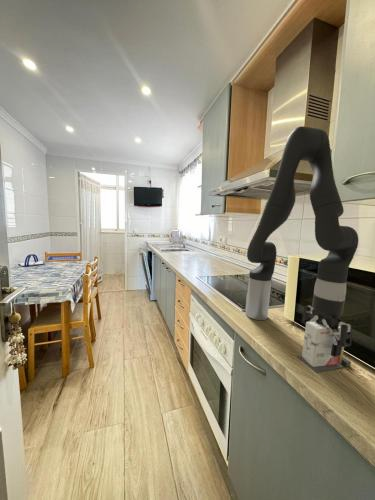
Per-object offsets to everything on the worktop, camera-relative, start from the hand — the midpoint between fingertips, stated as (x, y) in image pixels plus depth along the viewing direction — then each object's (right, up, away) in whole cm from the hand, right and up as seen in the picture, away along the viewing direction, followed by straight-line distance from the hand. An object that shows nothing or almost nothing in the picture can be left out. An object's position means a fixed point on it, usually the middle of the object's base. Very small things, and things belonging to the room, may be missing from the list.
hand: (321, 347), depth 63 cm
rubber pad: (0, -5, +1) cm, 5 cm away
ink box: (0, -5, +1) cm, 5 cm away
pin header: (+6, -5, +2) cm, 8 cm away
